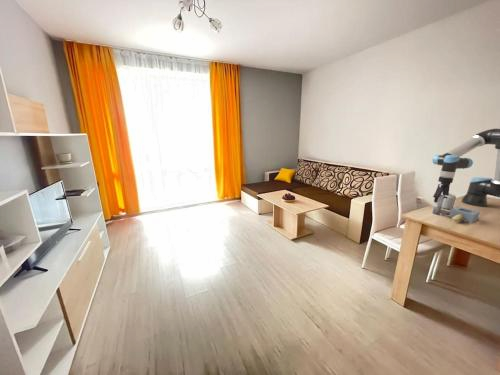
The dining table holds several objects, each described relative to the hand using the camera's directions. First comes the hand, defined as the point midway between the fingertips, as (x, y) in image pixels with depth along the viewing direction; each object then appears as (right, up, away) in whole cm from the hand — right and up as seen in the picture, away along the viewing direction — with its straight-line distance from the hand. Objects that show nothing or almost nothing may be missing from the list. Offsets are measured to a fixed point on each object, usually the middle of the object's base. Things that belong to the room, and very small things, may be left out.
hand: (438, 204), depth 153 cm
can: (+19, -4, +13) cm, 23 cm away
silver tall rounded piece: (0, -7, +2) cm, 7 cm away
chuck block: (+9, -10, -7) cm, 15 cm away
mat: (+8, -6, +5) cm, 12 cm away
